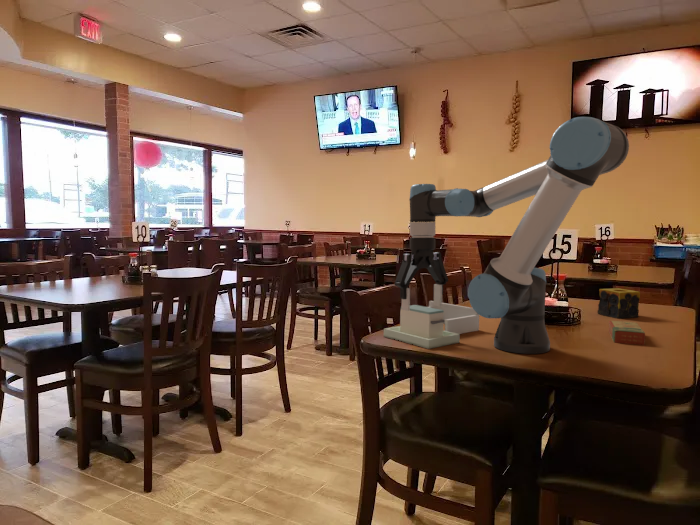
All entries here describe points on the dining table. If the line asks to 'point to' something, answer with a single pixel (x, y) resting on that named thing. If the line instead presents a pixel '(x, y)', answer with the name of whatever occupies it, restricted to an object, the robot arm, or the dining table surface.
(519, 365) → the dining table surface
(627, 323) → the carton
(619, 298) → the yellow and blue cube
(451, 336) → the tray
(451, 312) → the bay
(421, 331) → the mint-topped white block
